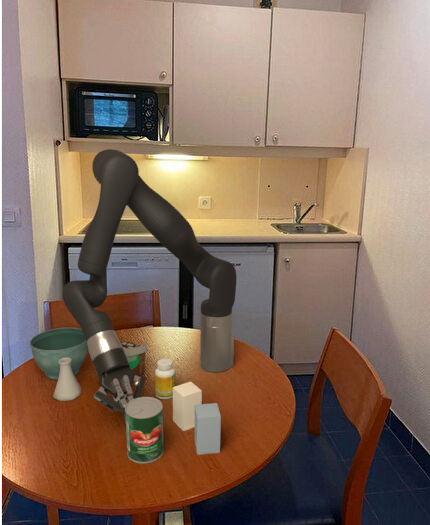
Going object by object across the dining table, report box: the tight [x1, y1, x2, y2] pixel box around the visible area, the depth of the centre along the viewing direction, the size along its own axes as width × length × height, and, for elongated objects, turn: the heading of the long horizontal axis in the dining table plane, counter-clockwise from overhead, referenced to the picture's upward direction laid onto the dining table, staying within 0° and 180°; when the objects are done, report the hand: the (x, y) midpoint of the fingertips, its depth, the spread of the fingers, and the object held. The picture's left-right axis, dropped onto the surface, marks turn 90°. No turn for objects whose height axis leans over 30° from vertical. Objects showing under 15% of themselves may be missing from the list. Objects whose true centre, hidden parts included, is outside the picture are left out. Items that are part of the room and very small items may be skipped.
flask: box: [52, 358, 82, 402], centre depth 118 cm, size 7×7×10 cm
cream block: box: [172, 381, 203, 432], centre depth 106 cm, size 5×5×9 cm
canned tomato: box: [125, 396, 165, 465], centre depth 96 cm, size 8×8×11 cm
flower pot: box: [29, 327, 89, 381], centre depth 129 cm, size 16×16×11 cm
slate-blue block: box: [194, 402, 222, 455], centre depth 98 cm, size 5×5×9 cm
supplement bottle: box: [154, 358, 176, 400], centre depth 118 cm, size 5×5×10 cm
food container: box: [120, 340, 148, 377], centre depth 127 cm, size 12×6×10 cm, turn 68°
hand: (134, 424), depth 99 cm, fingers closed
